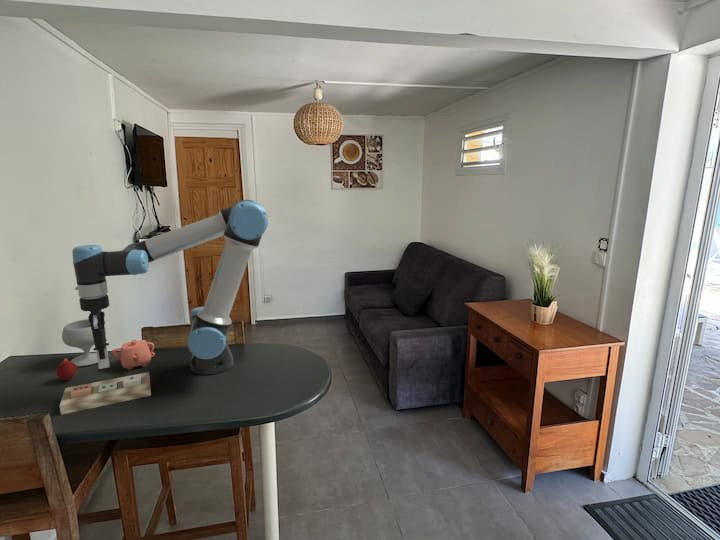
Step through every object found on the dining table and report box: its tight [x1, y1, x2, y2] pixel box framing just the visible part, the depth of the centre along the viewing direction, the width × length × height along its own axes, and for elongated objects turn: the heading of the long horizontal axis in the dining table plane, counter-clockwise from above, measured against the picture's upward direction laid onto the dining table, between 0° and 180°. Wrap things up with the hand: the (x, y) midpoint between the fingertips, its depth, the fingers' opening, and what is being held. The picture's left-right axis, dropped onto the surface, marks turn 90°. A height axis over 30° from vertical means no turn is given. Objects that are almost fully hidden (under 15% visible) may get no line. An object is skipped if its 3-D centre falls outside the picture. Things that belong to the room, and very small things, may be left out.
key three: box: [71, 382, 93, 399], centre depth 129 cm, size 5×5×3 cm
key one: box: [122, 373, 142, 388], centre depth 135 cm, size 5×5×3 cm
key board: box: [59, 371, 152, 416], centre depth 132 cm, size 24×12×3 cm, turn 118°
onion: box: [56, 357, 78, 381], centre depth 142 cm, size 6×6×8 cm
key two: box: [98, 382, 118, 393], centre depth 132 cm, size 5×5×3 cm
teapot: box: [111, 339, 156, 371], centre depth 154 cm, size 12×12×10 cm
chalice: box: [61, 318, 107, 367], centre depth 157 cm, size 14×14×15 cm
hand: (104, 367), depth 130 cm, fingers closed
